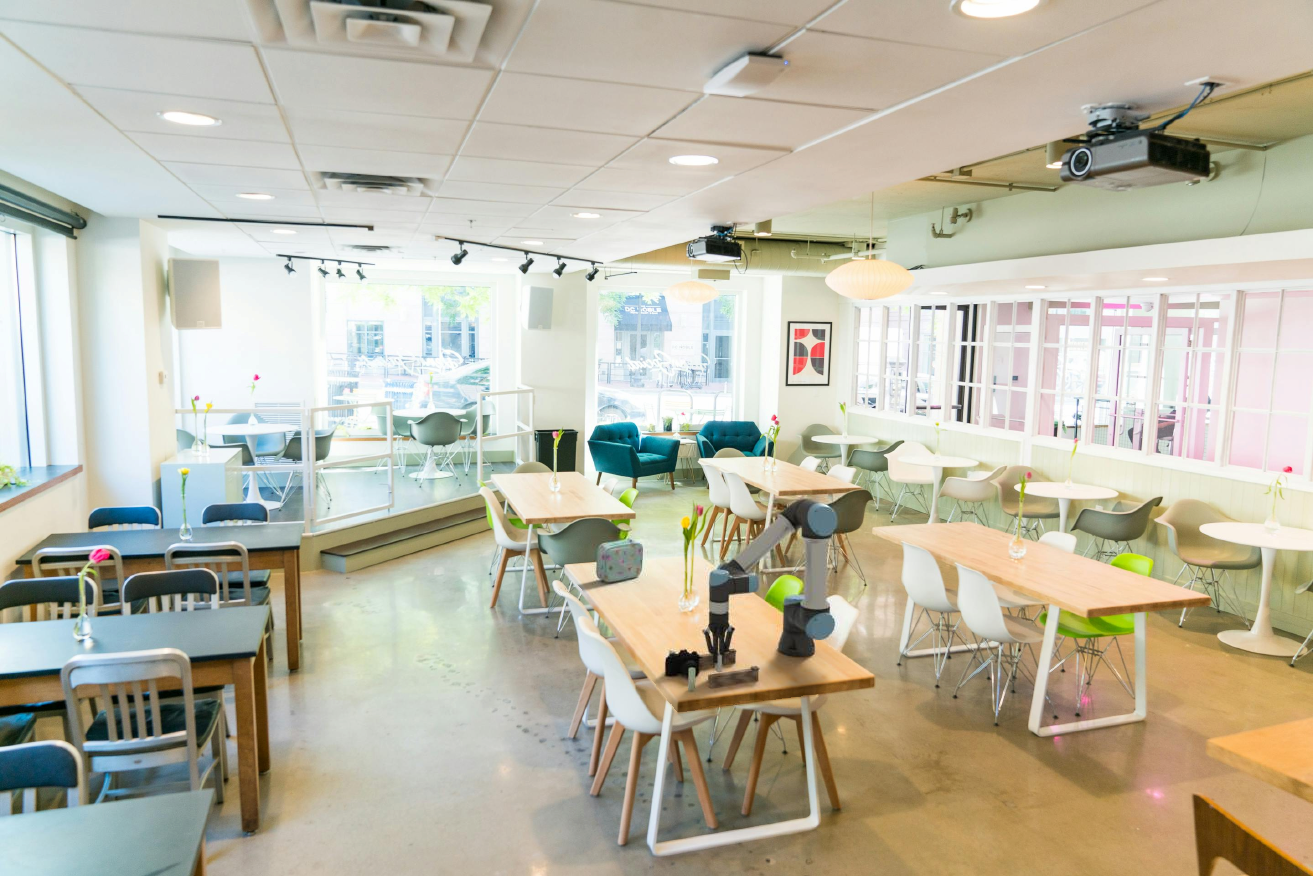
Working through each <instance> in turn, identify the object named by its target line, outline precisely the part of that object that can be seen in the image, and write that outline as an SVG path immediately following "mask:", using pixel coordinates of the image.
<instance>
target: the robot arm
mask: <svg viewBox="0 0 1313 876" xmlns="http://www.w3.org/2000/svg"><path fill="white" fill-rule="evenodd" d="M776 518H777V519H775V520H774V521H773V522H772V523H771V524H770V525H768V527H766V528H765V529H764V530H763V531H762V532H761V533H759V534H758V535H757V536H756V538H754V539H753V540H752V541H751V542H750V543H749V544H747V546H745V547H744V548H743V549H742V550H741V551H740V552H739V553H737V555H736V556H734V557H733V558H732V559H731V560H730V561H729V562H722V563H720V564H719V565H718V566H717V567H716V569H714V570H711V571H710V573H709V577H708V591H709V592H708V593H709V595H708V596H709V597H708V610H709V612H708V625H707V627H706V629H702V634H703V636H704V638H705V642H706V647H707V651H708V654H712V655H713V662H714V663H715V666H714V670H715V671H716V672H717V673H723V672H722V671H723V669H722V668H723V665H722V662H724V655H725V653H726V652H728V651H729V649H730V648H731V643H732V642H731V641H732V637H733V634H734V632H735V631H736V628H735V627H734V626H733V625H730V622H729V620H730V619H729V618H730V613H729V610H730V608H729V607H730V596H734V595H743V594H750V593H756V592H757V591H758V590H759V589H760V580H759V577H758V575H757V573H755V572H748V571H750V569H752V568H753V567H754V566H755V565H756V564H757V563H758V562H760V560H762V559H763V558H764V557H765V556H766V555H767V554H769V552H771V551H772V550H773V549H774V548H775V547H776V546H777V545H778V544H780V542H782V541H783V540H784V539H785V538H787V536H788V535H789V534H791V533H792V534H794V533H795V532H797V531H798V530H799V529H801V538H802V539H803V540H804V541H805V543H804V546H805V547H804V590H803V591H804V593H803V594H791V595H787V596H785V597H784V599H783V607H782V608H783V610H782V611H783V614H782V616H783V617H782V632H781V635H780V638H779V641H778V644H777V650H778V652H780V653H782V654H783V655H787V656H791V657H799V658H801V657H802V658H803V657H810V656H811V655H814V654H815V652H816V645H815V641H823V640H825V639H827V638H828V637H830V636H831V635H832V633H833V632H834V631H835V626H836V620H835V618H834V617H833V615H832V614H831V603H830V602H829V601H828V600H827V587H828V586H827V585H828V584H827V581H828V580H827V579H828V542H829V541H830V540H831V539H832V535H833V533H834V531H835V530H836V529H837V527H838V517H837V514H836V512H835V510H834V509H833V508H832V507H830V506H828V505H827V504H825V503H823V502H818V501H817V500H816V501H815V500H813V499H811V498H801V499H800V498H799V499H798V500H795V501H793V502H792V503H790V504H789V505H787V506H786V507H785V508H784V509H783V510H781V511H780V513H778V514H777V517H776ZM711 635H712V637H711ZM814 640H815V641H814ZM718 652H719V653H718Z"/></svg>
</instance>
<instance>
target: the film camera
mask: <svg viewBox="0 0 1313 876" xmlns="http://www.w3.org/2000/svg"><path fill="white" fill-rule="evenodd" d="M699 655H700V654H699V653H698V652H697V650H696V651H695V650H693V651H691V652H689V651H688V649H687V648H684V649H680V650H679V652H678V653H676V652H675V653H671V654H670V655H669V654H668V656H667V657H665V661H664V675H665V676H666V677H668V678H669V677H671V678H672V677H677V676H683V677H686V678H688V679H689V668H695V679H696V678H697V677H699V674H700V671H701V670H700V669H701V668H699V659H700V658H702V657H700V656H699Z"/></svg>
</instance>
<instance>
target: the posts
mask: <svg viewBox="0 0 1313 876" xmlns="http://www.w3.org/2000/svg"><path fill="white" fill-rule="evenodd" d="M671 653H675V654H676V650H675V649H669V651H668V656H669V655H670V654H671ZM688 691H690V692H695V691H696V678H695V668H689V678H688Z"/></svg>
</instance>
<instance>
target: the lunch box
mask: <svg viewBox="0 0 1313 876" xmlns="http://www.w3.org/2000/svg"><path fill="white" fill-rule="evenodd" d="M643 552H644V547H643V544H642V543H641V542H638V541H636V540H633V538H632V539H631V538H626V539H621V540H615V541H609V542H603V543H601V544H600V545H599V546H598V548H597V551H596V568H595V573H596V576H597V579H599V580H602V581H604V582H605V583H609V584H610V583H615V582H620V581H626V580H631V579H633V578H637V577H639V576H640V575H641V573H642V571H643V559H644V553H643Z"/></svg>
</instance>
